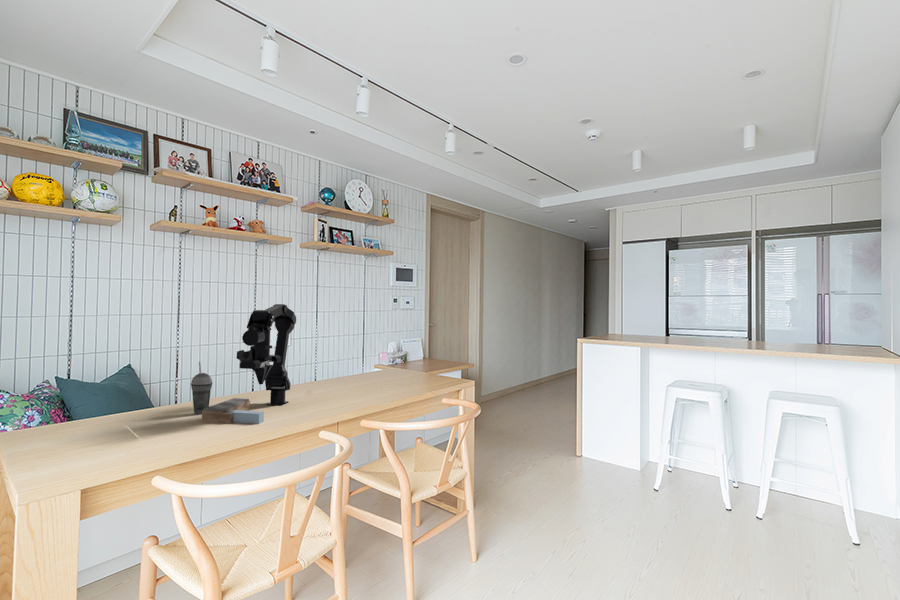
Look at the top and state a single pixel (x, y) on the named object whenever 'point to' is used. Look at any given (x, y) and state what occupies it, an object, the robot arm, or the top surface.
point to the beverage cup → (201, 391)
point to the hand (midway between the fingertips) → (260, 384)
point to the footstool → (224, 410)
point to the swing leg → (247, 416)
